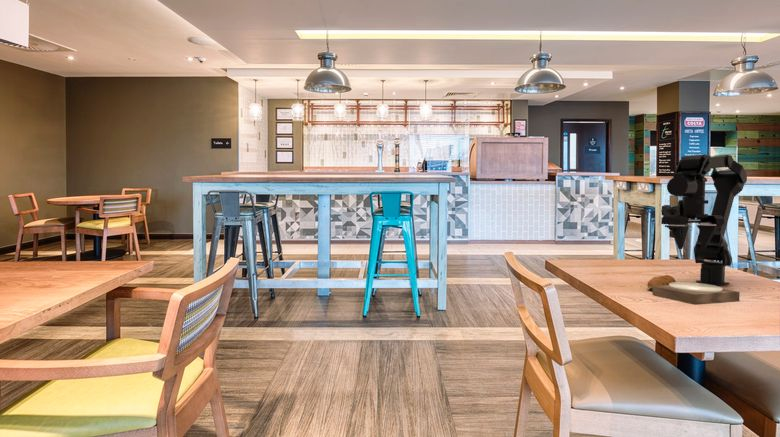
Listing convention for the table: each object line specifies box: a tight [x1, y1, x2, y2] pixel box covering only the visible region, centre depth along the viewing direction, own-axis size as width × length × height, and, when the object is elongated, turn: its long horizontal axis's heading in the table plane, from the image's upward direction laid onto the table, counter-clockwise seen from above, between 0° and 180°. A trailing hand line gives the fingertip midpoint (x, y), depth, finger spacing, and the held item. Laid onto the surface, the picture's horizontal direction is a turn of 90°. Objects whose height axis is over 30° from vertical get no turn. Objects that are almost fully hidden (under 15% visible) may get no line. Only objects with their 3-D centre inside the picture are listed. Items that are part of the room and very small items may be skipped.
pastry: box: [646, 274, 677, 289], centre depth 142 cm, size 9×7×4 cm
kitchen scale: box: [652, 281, 741, 305], centre depth 131 cm, size 16×13×3 cm
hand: (691, 248), depth 143 cm, fingers open, 9 cm apart
